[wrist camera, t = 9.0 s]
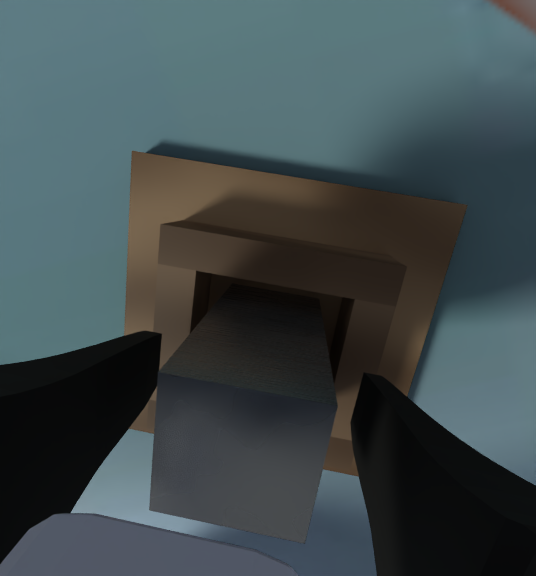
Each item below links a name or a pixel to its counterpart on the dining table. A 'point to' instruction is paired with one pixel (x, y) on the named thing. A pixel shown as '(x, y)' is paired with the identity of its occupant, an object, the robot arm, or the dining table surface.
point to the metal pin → (246, 415)
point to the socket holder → (288, 265)
